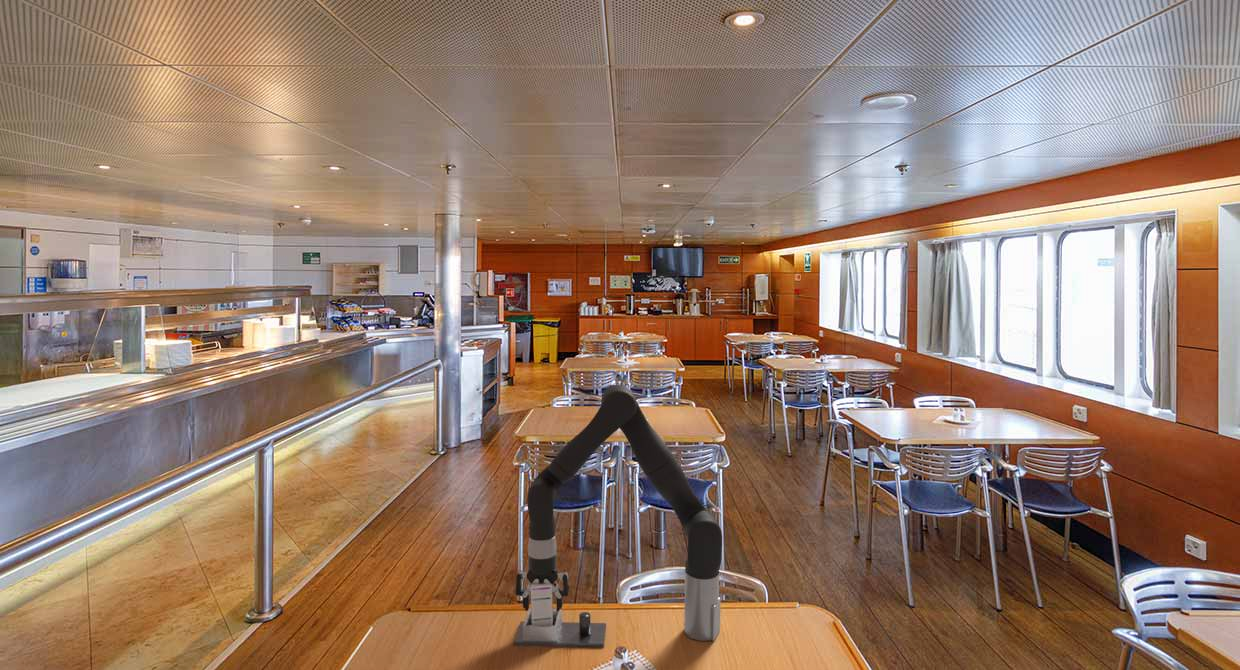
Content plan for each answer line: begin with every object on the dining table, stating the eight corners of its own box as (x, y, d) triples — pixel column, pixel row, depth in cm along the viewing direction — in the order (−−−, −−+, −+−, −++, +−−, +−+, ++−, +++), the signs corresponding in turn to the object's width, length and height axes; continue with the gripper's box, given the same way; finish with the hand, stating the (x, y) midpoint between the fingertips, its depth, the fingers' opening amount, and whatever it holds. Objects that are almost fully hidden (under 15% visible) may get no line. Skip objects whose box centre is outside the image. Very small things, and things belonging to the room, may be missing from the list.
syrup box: (553, 636, 169) (553, 584, 167) (531, 638, 168) (530, 585, 167) (552, 624, 174) (552, 574, 173) (530, 626, 173) (530, 576, 172)
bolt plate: (606, 626, 175) (606, 606, 175) (604, 647, 165) (604, 625, 165) (520, 624, 176) (520, 604, 176) (513, 645, 166) (513, 623, 166)
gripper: (570, 546, 172) (570, 603, 174) (518, 545, 173) (519, 602, 174) (567, 558, 165) (567, 617, 166) (513, 557, 165) (513, 616, 167)
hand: (542, 609), depth 170 cm, fingers open, 8 cm apart
